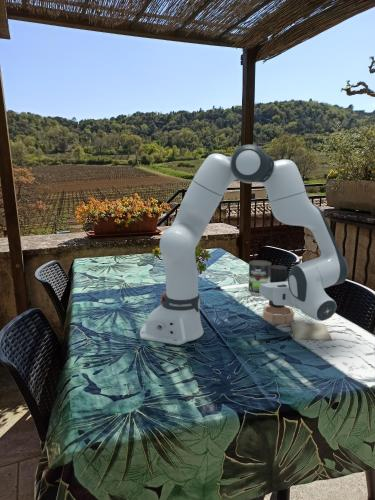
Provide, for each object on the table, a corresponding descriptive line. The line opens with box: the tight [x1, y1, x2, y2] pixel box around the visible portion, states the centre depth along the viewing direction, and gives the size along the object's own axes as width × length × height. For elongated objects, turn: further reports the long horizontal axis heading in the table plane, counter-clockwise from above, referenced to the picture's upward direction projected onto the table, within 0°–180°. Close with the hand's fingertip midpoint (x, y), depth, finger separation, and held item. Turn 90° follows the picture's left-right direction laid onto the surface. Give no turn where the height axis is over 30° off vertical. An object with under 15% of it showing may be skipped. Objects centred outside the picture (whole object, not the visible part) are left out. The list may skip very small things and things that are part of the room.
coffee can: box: [248, 259, 272, 296], centre depth 160 cm, size 10×10×14 cm
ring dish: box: [262, 304, 295, 325], centre depth 131 cm, size 11×11×3 cm
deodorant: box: [268, 264, 288, 308], centre depth 129 cm, size 6×6×15 cm
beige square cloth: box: [289, 321, 333, 341], centre depth 119 cm, size 12×12×1 cm
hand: (276, 282), depth 129 cm, fingers closed on deodorant, 6 cm apart
